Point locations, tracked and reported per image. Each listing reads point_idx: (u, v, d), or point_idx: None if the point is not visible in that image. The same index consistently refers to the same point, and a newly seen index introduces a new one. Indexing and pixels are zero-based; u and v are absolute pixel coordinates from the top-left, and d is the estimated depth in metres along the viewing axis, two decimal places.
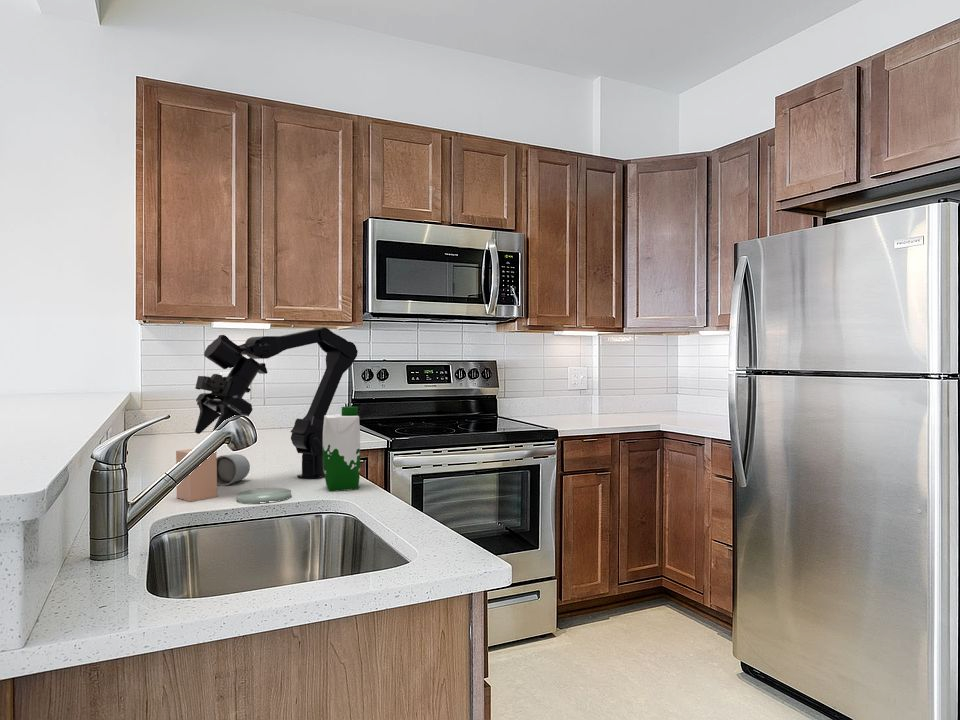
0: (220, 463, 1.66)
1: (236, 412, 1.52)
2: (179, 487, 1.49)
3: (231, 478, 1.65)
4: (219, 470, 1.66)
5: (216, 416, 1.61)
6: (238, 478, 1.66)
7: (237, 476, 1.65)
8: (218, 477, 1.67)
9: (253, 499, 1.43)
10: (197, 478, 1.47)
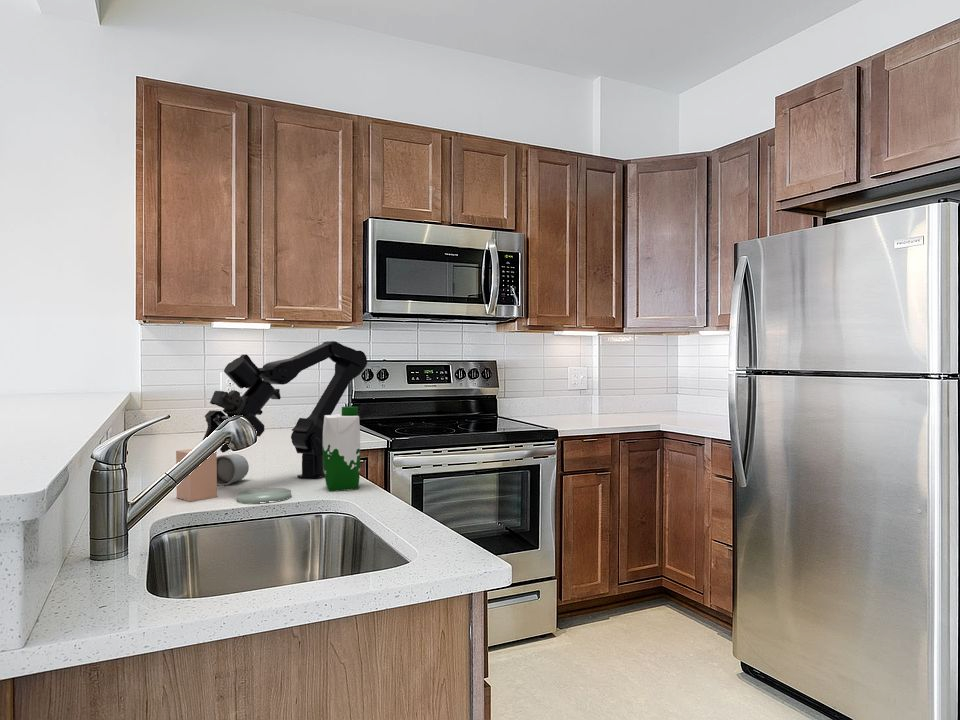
0: (219, 463, 1.66)
1: None
2: (179, 487, 1.49)
3: (230, 478, 1.65)
4: (218, 470, 1.66)
5: None
6: (237, 478, 1.66)
7: (236, 476, 1.65)
8: (217, 477, 1.67)
9: (253, 499, 1.43)
10: (197, 478, 1.47)
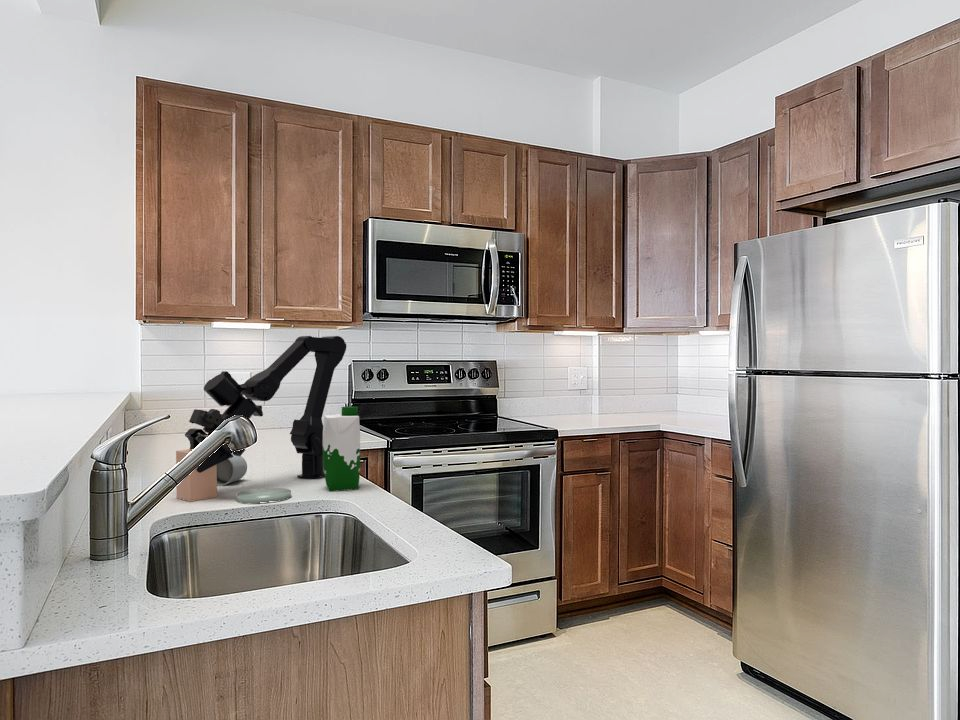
0: None
1: (226, 450, 1.49)
2: (179, 487, 1.49)
3: (228, 478, 1.65)
4: None
5: None
6: (235, 478, 1.66)
7: (234, 476, 1.65)
8: None
9: (253, 499, 1.43)
10: (197, 478, 1.47)
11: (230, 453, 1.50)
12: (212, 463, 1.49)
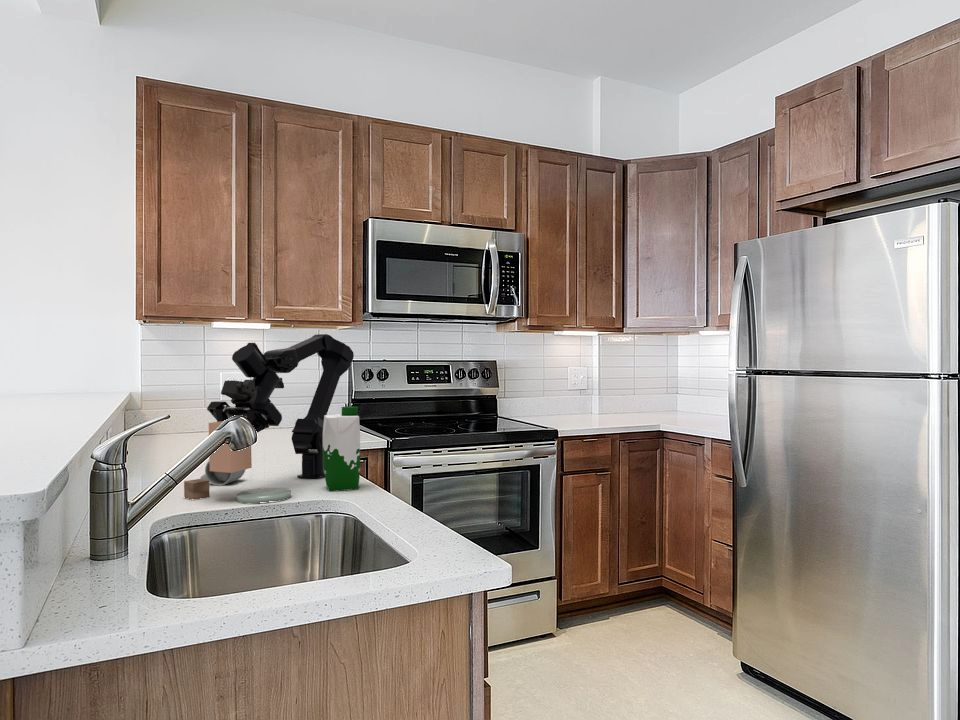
0: None
1: (264, 420, 1.49)
2: (214, 459, 1.46)
3: (227, 478, 1.65)
4: None
5: None
6: (234, 478, 1.66)
7: (233, 476, 1.65)
8: (214, 477, 1.67)
9: (253, 499, 1.43)
10: None
11: (267, 423, 1.50)
12: None
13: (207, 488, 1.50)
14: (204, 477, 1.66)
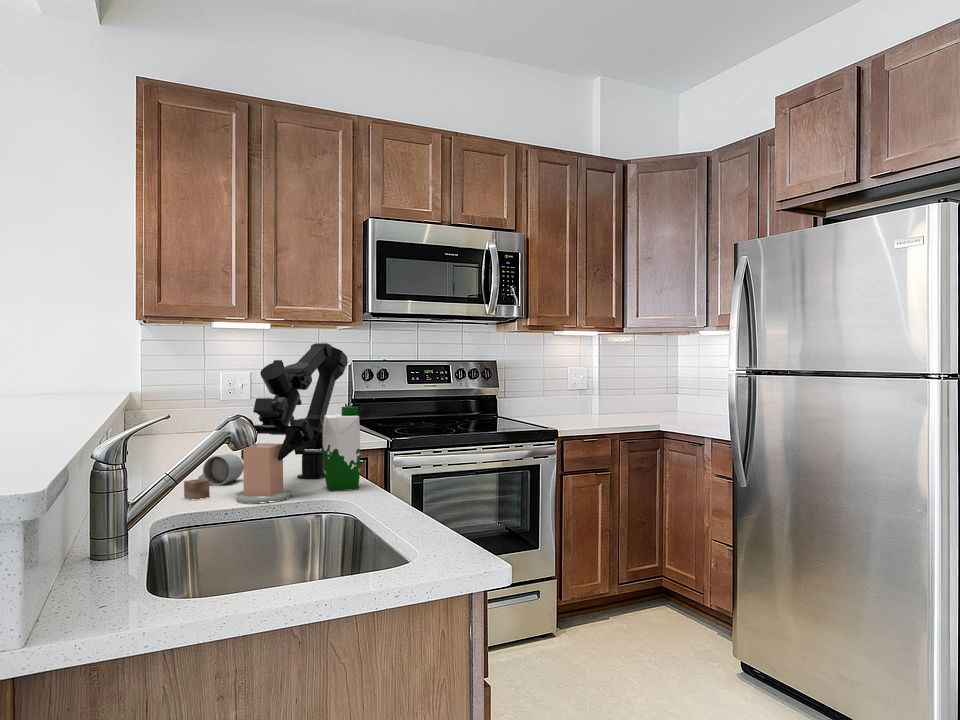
0: (213, 463, 1.66)
1: (302, 437, 1.51)
2: (249, 483, 1.46)
3: (224, 478, 1.66)
4: (212, 470, 1.67)
5: None
6: (231, 478, 1.66)
7: (230, 476, 1.65)
8: (212, 477, 1.67)
9: (253, 499, 1.43)
10: (273, 472, 1.47)
11: (304, 440, 1.52)
12: (288, 451, 1.49)
13: (207, 488, 1.50)
14: (202, 477, 1.66)
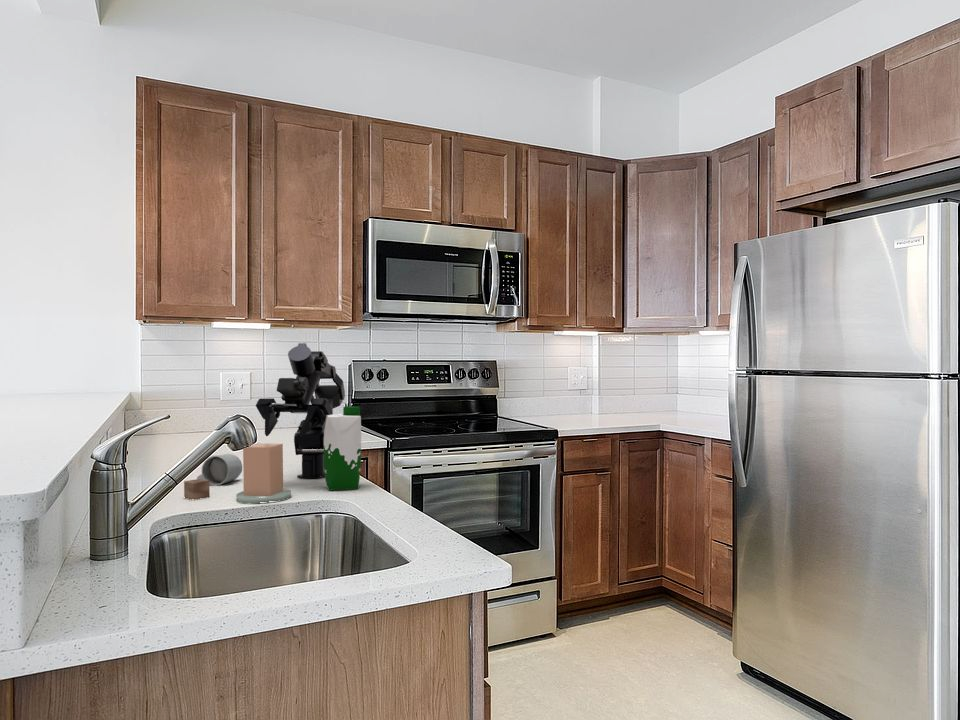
0: (212, 463, 1.66)
1: (322, 415, 1.60)
2: (249, 484, 1.46)
3: (223, 478, 1.66)
4: (211, 470, 1.67)
5: (276, 422, 1.63)
6: (230, 478, 1.66)
7: (229, 476, 1.65)
8: (210, 477, 1.67)
9: (253, 499, 1.43)
10: (273, 472, 1.47)
11: (324, 418, 1.61)
12: (309, 428, 1.59)
13: (207, 488, 1.50)
14: (201, 477, 1.66)
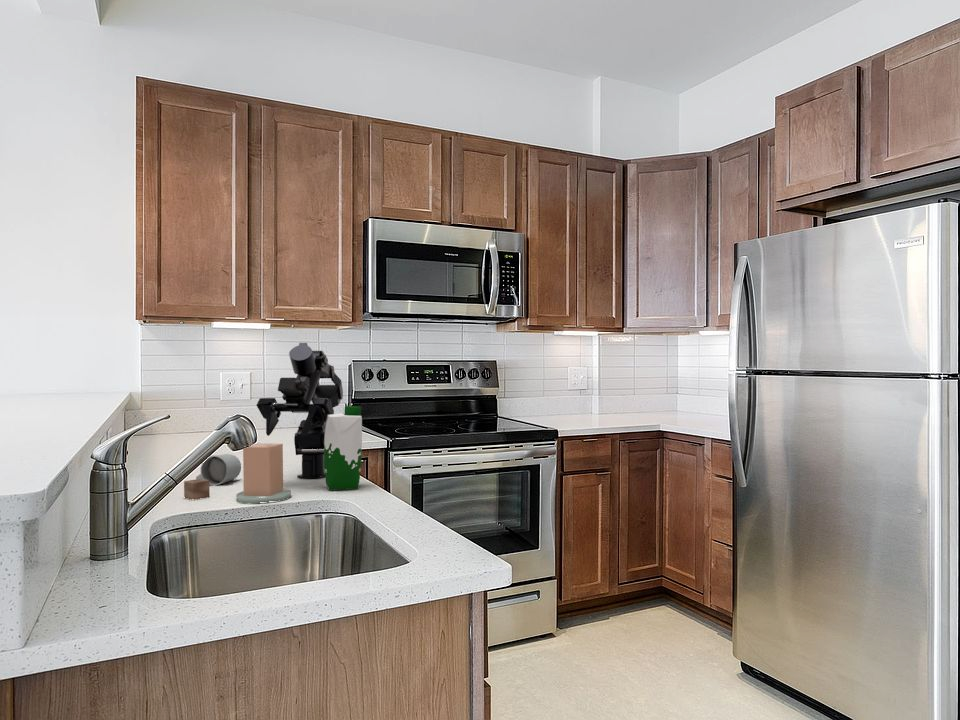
0: (211, 463, 1.66)
1: (323, 414, 1.60)
2: (249, 484, 1.46)
3: (222, 478, 1.66)
4: (210, 470, 1.67)
5: (277, 421, 1.63)
6: (229, 478, 1.66)
7: (228, 476, 1.65)
8: (209, 477, 1.67)
9: (253, 499, 1.43)
10: (273, 472, 1.47)
11: (325, 417, 1.61)
12: (310, 427, 1.59)
13: (207, 488, 1.50)
14: (199, 477, 1.66)
